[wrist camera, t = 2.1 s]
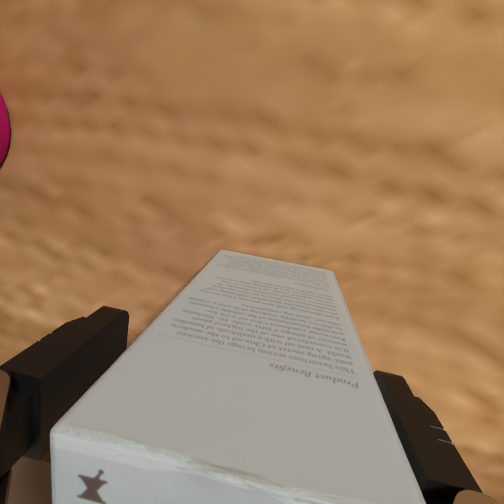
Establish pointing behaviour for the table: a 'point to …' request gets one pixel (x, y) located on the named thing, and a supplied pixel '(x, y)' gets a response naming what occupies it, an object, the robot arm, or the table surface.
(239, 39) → the table surface
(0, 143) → the pepper mill
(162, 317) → the skincare box
